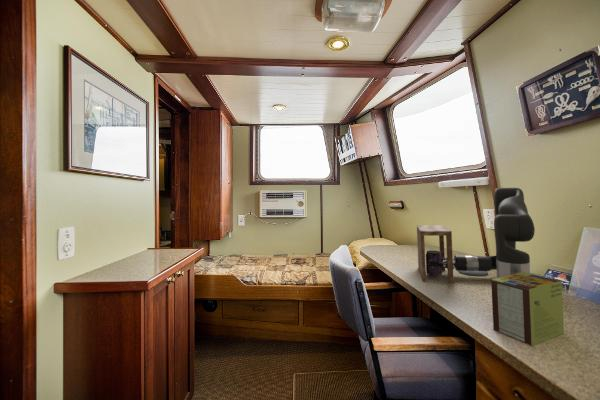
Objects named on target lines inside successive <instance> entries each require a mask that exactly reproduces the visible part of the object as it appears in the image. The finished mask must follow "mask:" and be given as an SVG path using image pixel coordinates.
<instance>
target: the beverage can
mask: <svg viewBox="0 0 600 400" xmlns="http://www.w3.org/2000/svg"><path fill="white" fill-rule="evenodd" d="M430 261H431V262H441V254H440V250H426V252H425V267H426V275H428V276H430V277H435V278H437V277H440V276H442V275H443V270H442V268H440V267H438V266H430Z"/></svg>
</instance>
